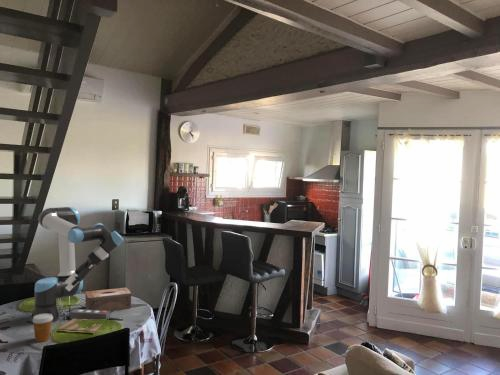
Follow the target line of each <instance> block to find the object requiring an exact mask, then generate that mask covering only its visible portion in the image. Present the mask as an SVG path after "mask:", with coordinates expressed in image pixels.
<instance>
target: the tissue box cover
mask: <svg viewBox="0 0 500 375" xmlns="http://www.w3.org/2000/svg"><path fill="white" fill-rule="evenodd" d="M84 296H85V297H84V299H85V300H84V302H85V304H84V307H85V309H86V310H105V311H111V312H112V311H121V310H129V309H131V308H132V292H131V291H130V290H129V289H128V288H127V287H120V288H119V287H117V288H110V289H109V288H108V289H100V290H99V289H98V290H90V291H89V290H88V291H85V294H84Z"/></svg>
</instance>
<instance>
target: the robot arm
mask: <svg viewBox="0 0 500 375" xmlns="http://www.w3.org/2000/svg"><path fill="white" fill-rule="evenodd" d="M80 222H81V216H80V213H79V211H78V210H77V208H75V207H73V206H61V207H49V208H45V209H44V210H42V211H41V212H40V213H39V215H38V223H39V225H40V226H41V227H42V228H44V229H46V230H52V231H54V232H57V233H58V251H59V252H58V254H59V257H58V258H59V273H58V274H57V277H55V276H50V277H44V278H41V279H39V280H37V281H35V284H34V290H33V291H34V302H33V303H34V305H33V306H34V308H33V310H32V312H31V316H30V322H31V323H32V324H33V321H32V319H33V317H34V316H36V315H39V314H46V313H47V314H52V316H53V320H52V323H55V322H57V321H58V320H60V318H61V313H60V311H59V307H58V299H64V298H68V297H73V296H75V295H79V294H80V293H81V291H82V290H83V286H84V278H86V276H87V275H88V274H90V273H89V272H90V271H91V270H93V268H94V265H95V266H99V265H100V264H102V262H103V261H104V260H105V259H107V258H109V256H110V255H111V253H112V252H114V251H115V250H116V249H117V248H119V246H120V245H121V244H122V243H123V242H124V238H123V237H122V236H121V234H119V233H118V232H117V231H116V230H113V231H111V230H110V229H108V227H107V226H106V225H104V224H103V223H101V222H97V223H96V224H93V225H92V226H91V227H81V226H80V225H79V224H80ZM95 241H99V242H100V243H99V244H98V245H97V246H96V247H95V249H93V251H91V253H89V254H88V255H87V258H88V259H87V260H86V261H84V262H83V263H82V264H80V265H79V267H77V268H76V253H75V252H76V251H75V250H76V248H75V244H79V243H85V242H86V243H87V242H95Z"/></svg>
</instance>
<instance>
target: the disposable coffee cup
mask: <svg viewBox="0 0 500 375" xmlns="http://www.w3.org/2000/svg"><path fill="white" fill-rule="evenodd" d="M52 320H53V316H52V314H47V313H46V314H39V315H36V316H34V317H33V319H32V321H33V323H32V324H33V331H34V339H35V342H38V343H42V342H43V343H44V342H47V341H48V340H50V337H51V336H50V335H51V331H52V330H51V329H52V324H53V322H52Z"/></svg>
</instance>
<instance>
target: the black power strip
mask: <svg viewBox="0 0 500 375" xmlns="http://www.w3.org/2000/svg"><path fill="white" fill-rule="evenodd" d="M111 313H112V311H105V310H86V308H85V309H84V308H83V309H81V308H74V309H72V310H71V311H70V312H69V319H70V320H72V319H108V320H113V321H114V320H115V321H123V320H124V318H122V317H111Z"/></svg>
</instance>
